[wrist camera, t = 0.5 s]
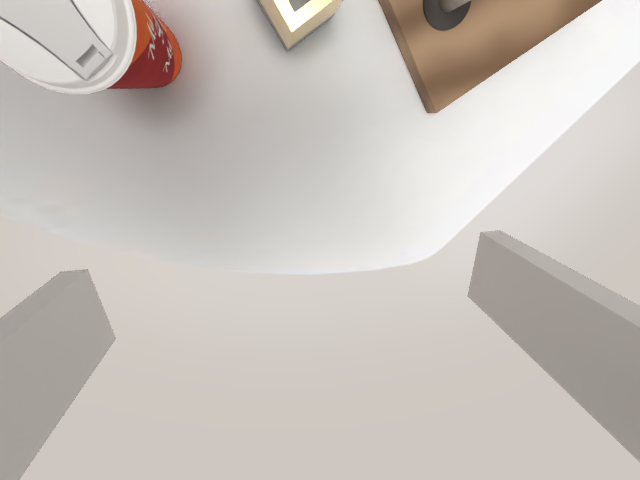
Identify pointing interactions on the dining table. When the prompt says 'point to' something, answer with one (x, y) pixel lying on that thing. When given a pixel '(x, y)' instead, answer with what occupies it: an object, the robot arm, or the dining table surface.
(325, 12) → the sleeve
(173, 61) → the paper cup
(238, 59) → the dining table surface
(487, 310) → the robot arm
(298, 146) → the dining table surface
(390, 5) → the pin board
